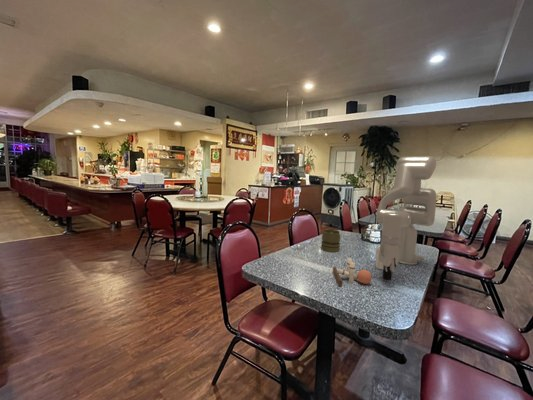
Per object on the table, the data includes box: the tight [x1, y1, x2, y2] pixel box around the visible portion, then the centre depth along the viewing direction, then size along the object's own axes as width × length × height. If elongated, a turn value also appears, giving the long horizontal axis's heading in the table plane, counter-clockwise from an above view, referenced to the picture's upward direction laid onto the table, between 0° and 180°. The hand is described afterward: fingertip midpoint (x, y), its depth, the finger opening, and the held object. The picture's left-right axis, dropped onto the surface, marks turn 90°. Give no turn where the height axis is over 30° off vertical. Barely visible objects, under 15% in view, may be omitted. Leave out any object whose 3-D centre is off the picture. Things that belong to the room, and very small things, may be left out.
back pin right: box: [345, 257, 353, 279], centre depth 113 cm, size 2×2×9 cm
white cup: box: [375, 246, 383, 271], centre depth 128 cm, size 8×8×10 cm
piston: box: [321, 229, 341, 253], centre depth 156 cm, size 11×12×11 cm
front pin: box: [337, 268, 358, 281], centre depth 111 cm, size 2×2×9 cm
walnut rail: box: [332, 266, 343, 288], centre depth 112 cm, size 1×16×2 cm, turn 174°
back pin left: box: [348, 261, 356, 284], centre depth 109 cm, size 2×2×9 cm
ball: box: [356, 269, 373, 285], centre depth 108 cm, size 6×6×6 cm
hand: (386, 279), depth 110 cm, fingers closed
